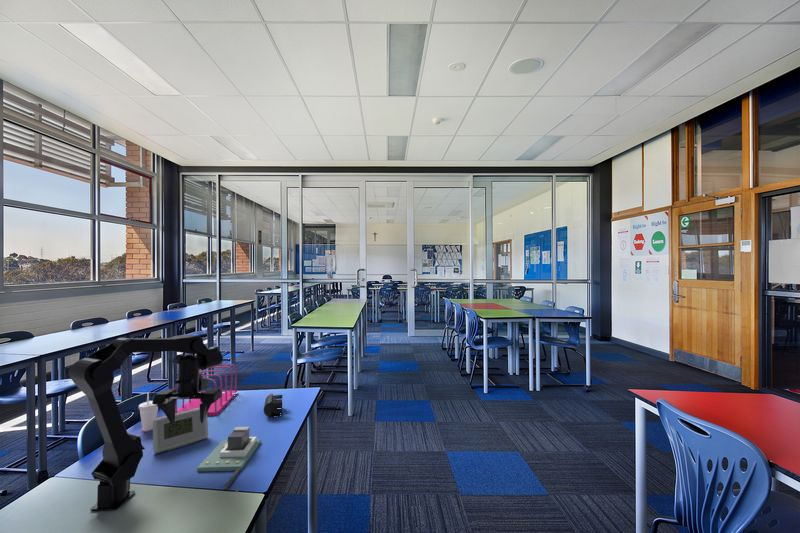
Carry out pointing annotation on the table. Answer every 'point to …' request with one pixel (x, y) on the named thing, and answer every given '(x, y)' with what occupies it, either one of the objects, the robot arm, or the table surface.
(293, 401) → the table surface
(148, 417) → the smoothie
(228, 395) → the file sorter
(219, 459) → the header board
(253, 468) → the table surface
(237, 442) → the plug
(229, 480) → the lead
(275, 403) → the power adapter
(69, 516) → the table surface
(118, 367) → the robot arm
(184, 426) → the digital clock
